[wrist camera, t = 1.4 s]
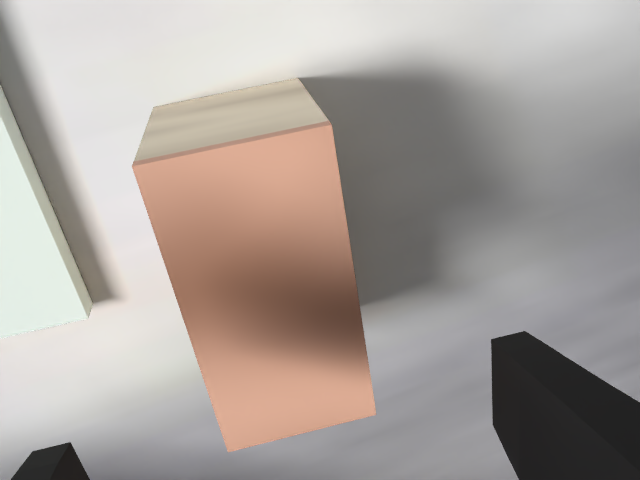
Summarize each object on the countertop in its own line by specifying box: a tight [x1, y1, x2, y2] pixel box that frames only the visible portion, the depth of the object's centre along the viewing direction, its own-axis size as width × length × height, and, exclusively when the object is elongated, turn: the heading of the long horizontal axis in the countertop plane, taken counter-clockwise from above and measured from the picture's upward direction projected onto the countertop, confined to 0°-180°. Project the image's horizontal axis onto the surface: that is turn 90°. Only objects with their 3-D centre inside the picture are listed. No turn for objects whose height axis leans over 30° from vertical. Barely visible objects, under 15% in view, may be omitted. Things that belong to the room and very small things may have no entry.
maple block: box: [132, 78, 376, 452], centre depth 15 cm, size 8×4×5 cm, turn 9°
